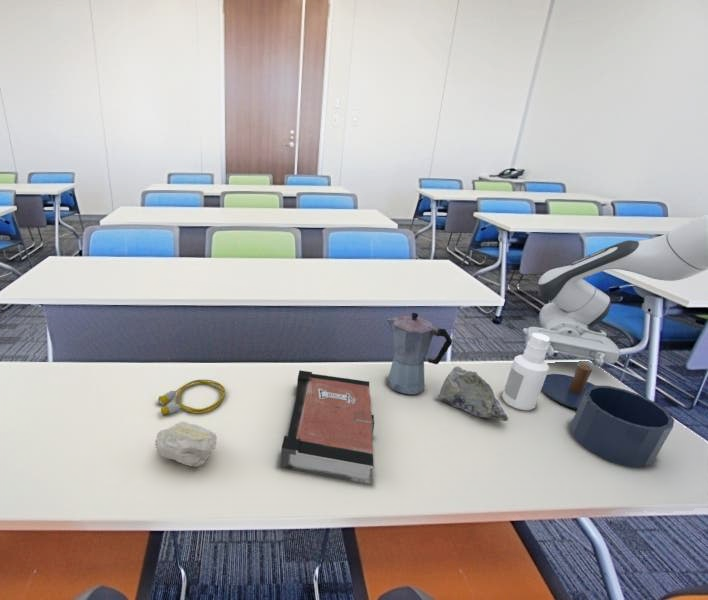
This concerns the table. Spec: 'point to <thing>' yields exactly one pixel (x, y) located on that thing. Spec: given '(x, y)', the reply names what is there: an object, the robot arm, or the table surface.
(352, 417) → the book
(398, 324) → the moka pot
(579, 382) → the lid
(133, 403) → the table surface
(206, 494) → the table surface
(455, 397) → the mineral rock
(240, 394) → the table surface
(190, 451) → the white rock
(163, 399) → the extension cord
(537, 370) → the spray bottle
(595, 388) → the pot
